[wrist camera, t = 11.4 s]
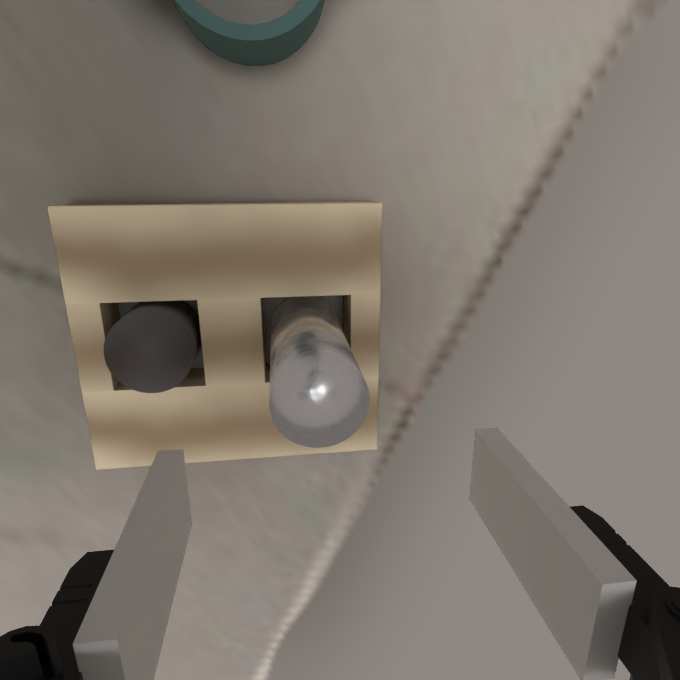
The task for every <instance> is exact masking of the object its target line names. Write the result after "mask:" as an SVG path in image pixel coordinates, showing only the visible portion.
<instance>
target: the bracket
mask: <svg viewBox="0 0 680 680" xmlns="http://www.w3.org/2000/svg"><path fill="white" fill-rule="evenodd" d="M173 1H174V3H175V5H176V6H177V8H178V10H179V12H180V13H181V15H182V17H183V19H184V20H185V22H186V24H187V26H188V27H189V28H190V30H191V31H192V32H193V34H194V35H195V36H196V37H197V39H198V40H200V41H201V42H202V43H203V44H204V45H205V46H206V47H207V48H208V49H210V50H211V51H213V52H214V53H216V54H217V55H219V56H220V57H222V58H225V59H227V60H229V61H232V62H234V63H238V64H243V65H249V66H262V65H268V64H273V63H276V62H278V61H281V60H283V59H285V58H287V57H289V56H290V55H292V54H293V53H295V52H296V51H297V50H298V49H299V48H300V47H301V46H302V45H303V44H304V43H305V42H306V41H307V40H308V38H309V37H310V35H311V34H312V32H313V31H314V29H315V27H316V25H317V23H318V20H319V18H320V15H321V11H322V8H323V4H324V0H301V1H300V2H299V3H298V4H297V6H296V7H295V8H294V9H292V10H291V11H289V12H288V13H287V14H285V15H284V16H282V17H280V18H278V19H275V20H273V21H271V22H268V23H262V24H256V25H248V24H237V23H234V22H230V21H226V20H224V19H222V18H220V17H218V16H215V15H213V14H211V13H210V12H209V11H207V10H206V9H204V8H203V7H202V6H200V5H199V4H198V3H197V2H196V1H195V0H173Z"/></svg>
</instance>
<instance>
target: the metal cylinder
mask: <svg viewBox="0 0 680 680" xmlns="http://www.w3.org/2000/svg"><path fill="white" fill-rule="evenodd" d="M369 403H370V396H369V390H368V387H367V384H366V381H365V379H364V377H363V375H362V373H361V370H360V368H359V366H358V364H357V362H356V359H355V357H354V355H353V353H352V351H351V348H350V346H349V344H348V342H347V340H346V338H345V335H344V333H343V331H342V329H341V327H340V324H339V322H338V320H337V318H336V316H335V313H334V311H333V310H332V308H331V307H330V306H329V304H328V303H327V302H325V301H324V300H323V299H321V298H319V297H317V296H300V297H290V298H288V299H286V300H285V301H284V302H282V303H281V304H280V305H279V307H278V308H277V309H276V311H275V313H274V315H273V318H272V323H271V356H270V390H269V410H270V415H271V418H272V420H273V423H274V425H275V426H276V428H277V429H278V430H279V432H280V433H281V434H282V435H283V436H285V437H286V438H287V439H289V440H290V441H292V442H294V443H296V444H298V445H301V446H305V447H311V448H323V447H329V446H333V445H336V444H339V443H341V442H343V441H345V440H346V439H348V438H349V437H351V436H352V435H353V434H354V433H355V432H356V431H357V430H358V429H359V428H360V426H361V425H362V424H363V422H364V420H365V418H366V416H367V413H368V409H369Z"/></svg>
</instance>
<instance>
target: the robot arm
mask: <svg viewBox="0 0 680 680" xmlns="http://www.w3.org/2000/svg"><path fill="white" fill-rule="evenodd" d="M469 499H470V501H471V503H472V504H473V506H474V507H475V509H476V511H477V512H478V514H479V516H480V517H481V519H482V520H483V522H484V524H485V525H486V527H487V528H488V530H489V532H490V533H491V535H492V537H493V538H494V540H495V541H496V543H497V545H498V546H499V548H500V549H501V551H502V553H503V555H504V556H505V558H506V559H507V561H508V563H509V564H510V566H511V567H512V569H513V571H514V572H515V574H516V576H517V577H518V579H519V581H520V582H521V584H522V585H523V587H524V589H525V590H526V592H527V594H528V595H529V597H530V598H531V600H532V601H533V603H534V605H535V607H536V608H537V610H538V611H539V613H540V615H541V616H542V618H543V619H544V621H545V623H546V624H547V626H548V628H549V629H550V631H551V632H552V634H553V636H554V637H555V639H556V641H557V642H558V644H559V645H560V647H561V649H562V650H563V652H564V654H565V655H566V657H567V658H568V660H569V662H570V663H571V665H572V667H573V668H574V670H575V671H576V673H577V675H578V676H579V678H580V680H603V679H611V678H614V676H615V672H616V667H617V663H618V659H619V658H620V660H621V661H622V662H623V664H624V665H625V667H626V668H627V669H628V671H629V672H630V674H631V676H630V680H680V588H677V587H670V586H669V585H668V584H667V583H666V582H665V581H664V580H663V579H662V578H661V577H660V576H659V575H658V574H657V573H656V572H655V571H654V570H653V569H652V568H651V567H650V566H649V565H648V564H647V563H646V562H645V561H644V560H643V559H642V558H641V557H640V556H639V555H638V554H637V553H636V552H635V551H634V550H633V549H632V548H631V547H630V546H629V545H627V544H626V542H625V540H624V539H623V538H622V537H621V536H620V535H619V534H616V533H615V530H614V529H613V528H612V527H611V526H610V525H609V524H608V523H607V522H606V521H605V520H604V519H603V518H602V517H600V516H599V515H597V514H596V513H594V512H593V511H591V510H589V509H588V508H586V507H584V506H574V507H569V506H568V505H567V504H566V503H565V501H564V500H563V499H562V498H561V497H560V496H559V495H558V494H557V493H556V491H555V490H554V489H553V488H552V487H551V486H550V485H549V484H548V483H547V482H546V481H545V479H543V477H541V475H540V474H539V473H538V472H537V471H536V470H535V468H534V467H533V466H532V465H531V464H530V463H529V462H528V461H527V460H526V459H525V458H524V456H522V454H521V453H520V452H519V451H518V450H517V449H516V448H515V447H514V445H513V444H512V443H511V442H510V441H509V440H508V439H507V438H506V437H505V436H504V434H503V433H502V432H501V431H500V430H499V429H498V428H485V429H475V440H474V451H473V462H472V474H471V484H470V496H469ZM191 526H192V517H191V509H190V500H189V492H188V484H187V475H186V467H185V459H184V450H183V449H179V450H164V451H158V452H157V454H156V456H155V459H154V461H153V463H152V466H151V468H150V470H149V472H148V475H147V477H146V479H145V481H144V484H143V486H142V488H141V490H140V493H139V495H138V497H137V499H136V502H135V504H134V506H133V509H132V511H131V513H130V515H129V518H128V520H127V522H126V524H125V527H124V529H123V531H122V533H121V536H120V538H119V540H118V543H117V545H116V547H115V549H114V550H106V551H95V552H87V553H86V554H85V555H84V556H83V557H82V558H81V559H80V560H79V561H78V562H77V563H76V564H75V565H74V566H72V567H71V568H70V570H69V572H68V574H67V576H66V577H65V579H64V581H63V583H62V585H61V587H60V591H58V592H57V594H56V596H55V598H54V600H53V602H52V606H50V607H49V609H48V611H47V613H46V615H45V617H44V619H43V620H42V622H41V624H40V626H25V627H22V628H19V629H16V630H12V631H9V632H8V633H6V634H4V635H2V636H0V680H154V676H155V672H156V668H157V664H158V660H159V655H160V651H161V647H162V643H163V639H164V635H165V631H166V627H167V623H168V619H169V615H170V611H171V607H172V603H173V599H174V595H175V591H176V586H177V582H178V578H179V574H180V570H181V566H182V562H183V558H184V554H185V550H186V546H187V542H188V538H189V534H190V530H191Z"/></svg>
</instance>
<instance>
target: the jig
mask: <svg viewBox="0 0 680 680" xmlns="http://www.w3.org/2000/svg"><path fill="white" fill-rule="evenodd" d="M47 208H48V213H49V218H50V224H51V229H52V234H53V240H54V245H55V250H56V256H57V261H58V267H59V272H60V277H61V283H62V288H63V293H64V299H65V304H66V309H67V315H68V320H69V325H70V331H71V336H72V342H73V347H74V352H75V358H76V363H77V368H78V374H79V379H80V384H81V390H82V395H83V400H84V406H85V411H86V417H87V422H88V427H89V433H90V438H91V443H92V449H93V454H94V459H95V465H96V470H98V469H112V468H125V467H139V466H152V463H153V461H154V459H155V456H156V454H157V452H158V451H164V450H179V449H183V450H184V459H185V463H195V462H208V461H222V460H236V459H250V458H264V457H278V456H292V455H305V454H319V453H333V452H347V451H361V450H375V449H377V428H378V381H379V335H380V288H381V241H382V203H380V202H374V201H344V202H240V203H135V204H66V205H56V206H47ZM330 295H344V335H345V338H346V340H347V342H348V344H349V346H350V348H351V351H352V353H353V355H354V357H355V359H356V362H357V364H358V366H359V368H360V370H361V373H362V375H363V377H364V379H365V381H366V384H367V387H368V390H369V396H370V403H369V409H368V413H367V416H366V418H365V420H364V422H363V424H362V425H361V426H360V428H359V429H358V430H357V431H356V432H355V433H354V434H353V435H352V436H351V437H349V438H348V439H346V440H345V441H343V442H341V443H339V444H336V445H333V446H329V447H323V448H311V447H305V446H301V445H298V444H296V443H294V442H292V441H290V440H289V439H287V438H286V437H285V436H283V435H282V434H281V433H280V432H279V430H278V429H277V428H276V426H275V425H274V423H273V420H272V418H271V415H270V410H269V390H270V365H266V357H265V339H264V322H263V304H262V298H270V297H300V296H330ZM183 300H197V302H198V312H199V315H198V313H197V312H196V311H195V310H194V308H193V307H191V306H190V305H189V304H188V303H186V302H185V301H183ZM118 302H140V303H138V304H137V305H136V306H135V307H134V308H133V309H132V310H130V311H129V312H128V313H127V314H126V315H125V316H123V317H122V318H121V319H120V316H119V309H118ZM201 345H202V352H203V362H204V369H191V367H192V364H193V362H194V360H195V358H196V356H197V354H198V351H199V349H200V347H201Z"/></svg>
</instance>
